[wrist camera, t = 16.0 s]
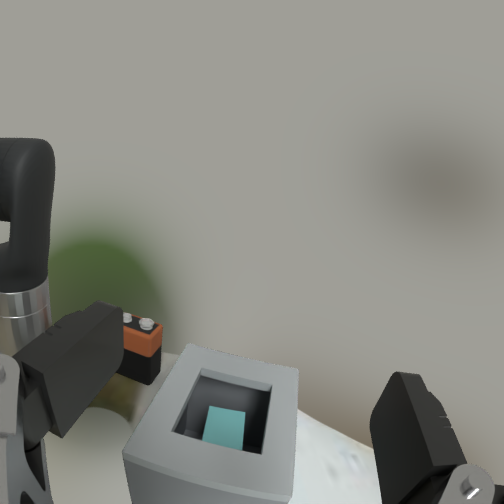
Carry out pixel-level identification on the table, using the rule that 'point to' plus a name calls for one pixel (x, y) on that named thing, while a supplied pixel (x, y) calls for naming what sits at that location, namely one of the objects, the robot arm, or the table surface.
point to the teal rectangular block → (224, 427)
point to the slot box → (211, 455)
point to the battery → (141, 349)
